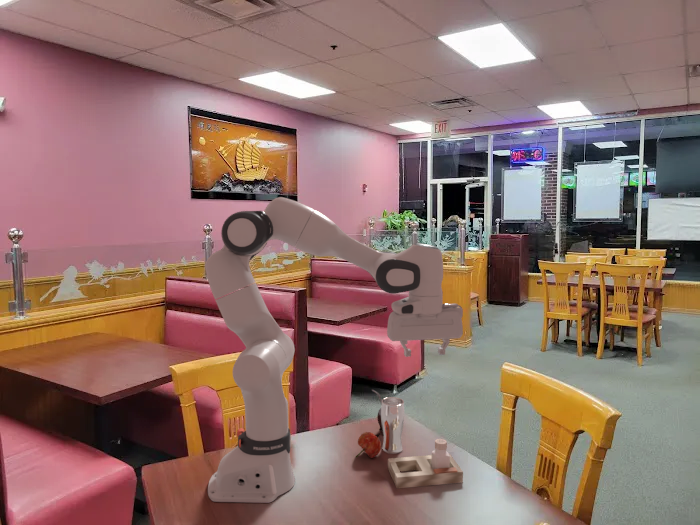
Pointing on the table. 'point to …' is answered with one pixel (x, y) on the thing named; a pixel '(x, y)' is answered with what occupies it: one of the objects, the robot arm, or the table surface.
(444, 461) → the pepper shaker
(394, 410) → the beer glass
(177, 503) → the table surface
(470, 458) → the table surface
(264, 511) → the table surface
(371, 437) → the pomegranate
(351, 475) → the table surface
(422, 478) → the slot rack
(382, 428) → the mate gourd
